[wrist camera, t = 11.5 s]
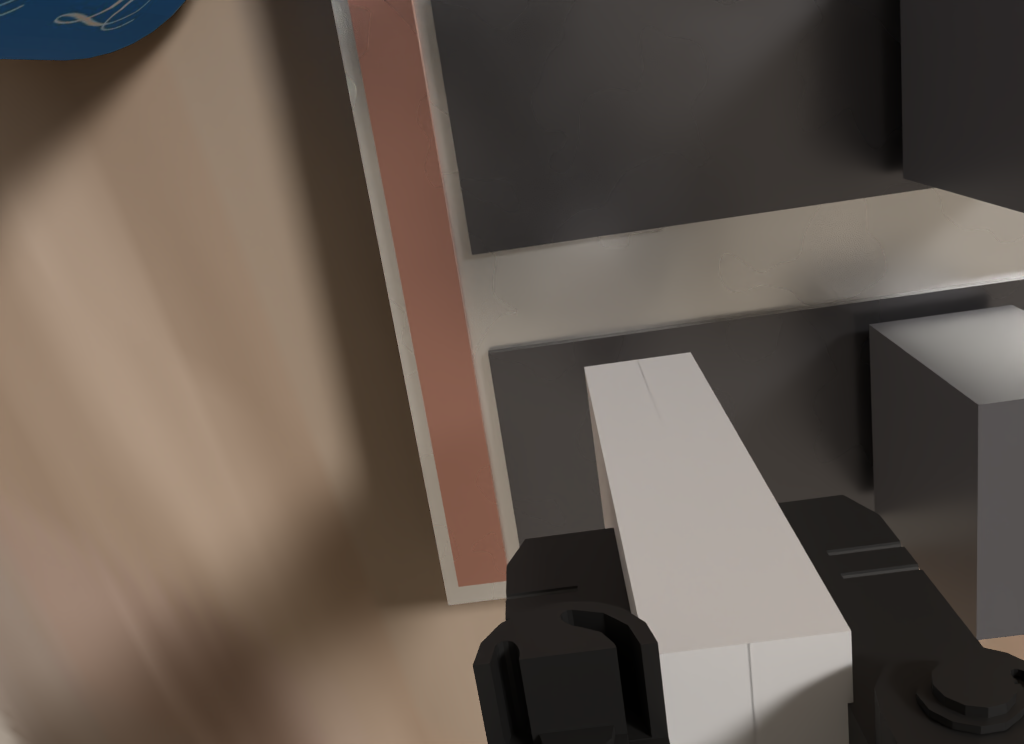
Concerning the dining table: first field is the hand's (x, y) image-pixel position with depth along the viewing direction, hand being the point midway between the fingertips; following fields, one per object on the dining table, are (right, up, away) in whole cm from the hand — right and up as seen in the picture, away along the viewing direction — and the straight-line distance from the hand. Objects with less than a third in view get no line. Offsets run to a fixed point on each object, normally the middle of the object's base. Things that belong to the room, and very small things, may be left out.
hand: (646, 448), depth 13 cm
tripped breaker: (+6, 0, +3) cm, 6 cm away
